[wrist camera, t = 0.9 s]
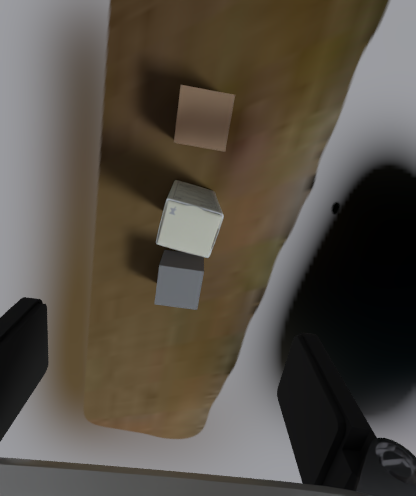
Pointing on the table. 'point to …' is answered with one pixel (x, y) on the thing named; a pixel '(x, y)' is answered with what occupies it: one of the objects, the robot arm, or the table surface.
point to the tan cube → (203, 118)
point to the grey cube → (179, 279)
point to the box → (190, 219)
